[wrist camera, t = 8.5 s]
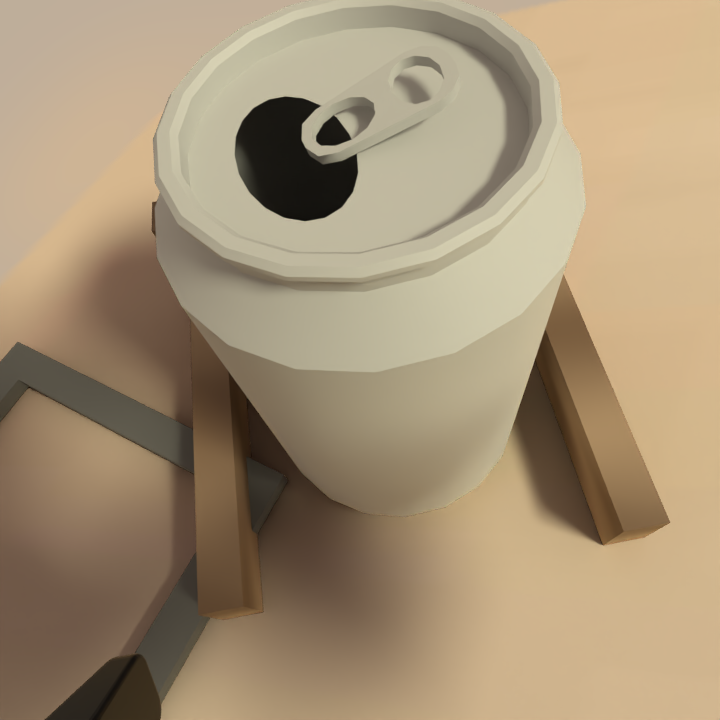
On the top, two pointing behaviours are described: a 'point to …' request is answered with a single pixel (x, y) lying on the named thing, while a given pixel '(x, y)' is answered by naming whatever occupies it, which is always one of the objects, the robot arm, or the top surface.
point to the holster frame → (165, 439)
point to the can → (372, 234)
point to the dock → (567, 396)
